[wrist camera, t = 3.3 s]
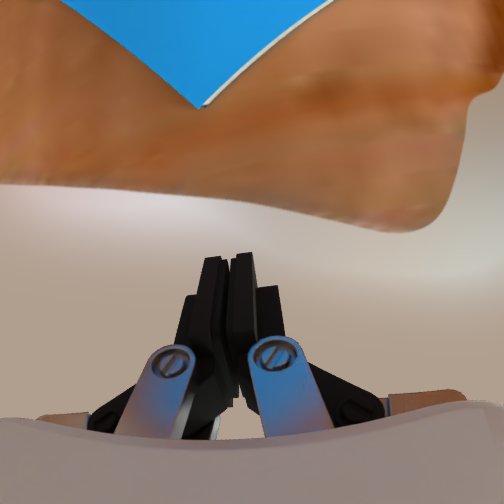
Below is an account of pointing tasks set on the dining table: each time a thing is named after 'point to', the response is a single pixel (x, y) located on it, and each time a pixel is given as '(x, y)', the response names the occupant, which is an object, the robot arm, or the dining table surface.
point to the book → (198, 36)
